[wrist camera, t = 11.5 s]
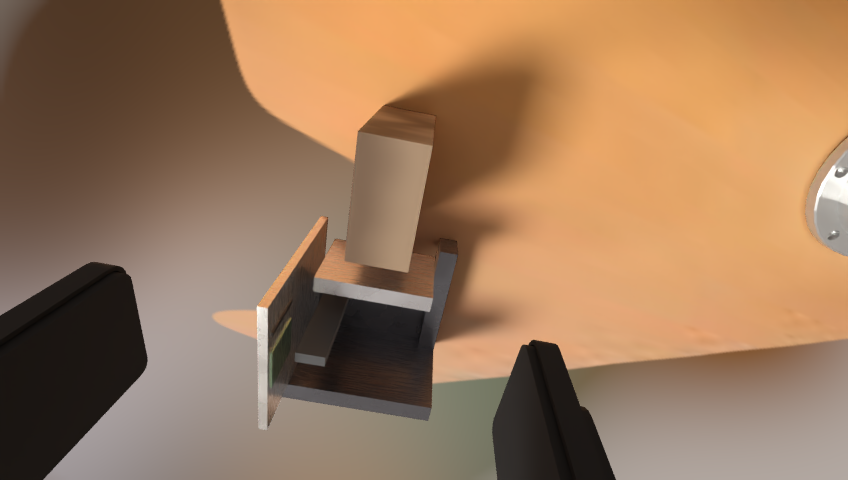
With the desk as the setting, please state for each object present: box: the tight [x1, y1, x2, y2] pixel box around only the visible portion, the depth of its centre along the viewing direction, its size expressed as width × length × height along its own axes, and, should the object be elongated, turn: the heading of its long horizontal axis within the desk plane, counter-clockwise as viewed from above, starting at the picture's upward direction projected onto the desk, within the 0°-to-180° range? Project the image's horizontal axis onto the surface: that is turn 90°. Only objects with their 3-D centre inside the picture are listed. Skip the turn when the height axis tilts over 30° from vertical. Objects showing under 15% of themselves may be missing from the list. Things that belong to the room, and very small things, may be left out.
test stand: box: [257, 216, 458, 430], centre depth 31 cm, size 12×12×13 cm
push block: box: [344, 106, 436, 273], centre depth 27 cm, size 4×8×10 cm, turn 169°
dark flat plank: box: [295, 293, 350, 367], centre depth 30 cm, size 2×1×10 cm, turn 79°
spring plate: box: [313, 239, 434, 312], centre depth 30 cm, size 8×3×6 cm, turn 79°
